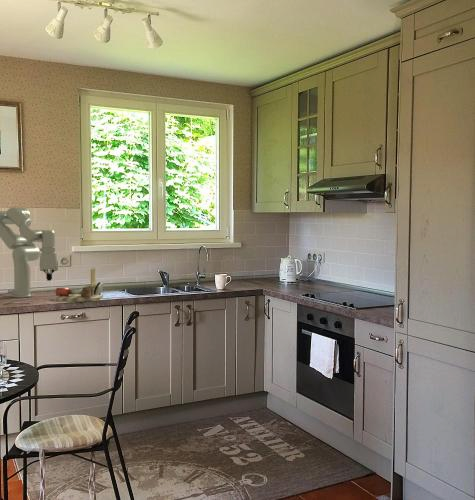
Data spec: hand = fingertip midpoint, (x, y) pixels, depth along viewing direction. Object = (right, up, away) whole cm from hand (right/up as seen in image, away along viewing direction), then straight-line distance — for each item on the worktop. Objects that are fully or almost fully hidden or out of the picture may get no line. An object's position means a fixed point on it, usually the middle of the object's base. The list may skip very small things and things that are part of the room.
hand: (49, 280), depth 343 cm
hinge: (+24, -11, +21) cm, 34 cm away
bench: (+18, -12, +2) cm, 22 cm away
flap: (+26, -3, +2) cm, 26 cm away
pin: (+14, -10, +2) cm, 17 cm away
